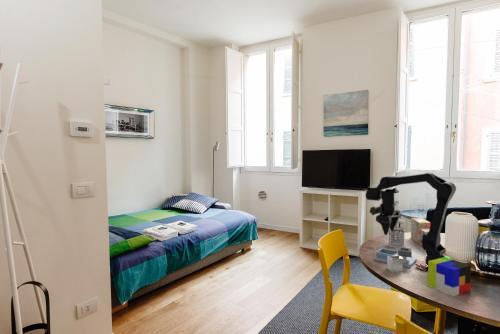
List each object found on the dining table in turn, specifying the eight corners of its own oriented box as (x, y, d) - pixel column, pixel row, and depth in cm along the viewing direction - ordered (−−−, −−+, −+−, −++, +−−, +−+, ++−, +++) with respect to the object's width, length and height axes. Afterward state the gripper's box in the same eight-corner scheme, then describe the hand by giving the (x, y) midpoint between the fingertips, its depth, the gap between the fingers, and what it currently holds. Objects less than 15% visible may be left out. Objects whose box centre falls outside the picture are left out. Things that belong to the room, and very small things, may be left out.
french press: (398, 249, 166) (399, 203, 164) (380, 243, 176) (380, 199, 174) (410, 246, 170) (410, 201, 169) (391, 240, 181) (392, 198, 179)
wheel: (411, 253, 146) (411, 248, 146) (411, 257, 141) (411, 252, 141) (398, 251, 149) (398, 246, 149) (397, 255, 144) (398, 250, 144)
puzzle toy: (453, 296, 114) (453, 270, 114) (427, 285, 123) (428, 260, 123) (470, 290, 118) (470, 265, 118) (444, 280, 127) (445, 256, 127)
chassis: (416, 260, 149) (416, 252, 149) (410, 268, 141) (410, 259, 140) (382, 253, 159) (382, 246, 159) (374, 259, 151) (374, 251, 151)
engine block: (397, 268, 141) (398, 253, 140) (402, 271, 137) (402, 256, 136) (387, 268, 141) (387, 253, 140) (391, 272, 137) (391, 257, 136)
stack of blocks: (437, 249, 164) (438, 226, 163) (425, 249, 165) (425, 226, 164) (421, 237, 185) (422, 217, 184) (410, 237, 186) (411, 217, 185)
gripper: (378, 197, 165) (378, 226, 166) (364, 203, 152) (365, 234, 152) (400, 199, 158) (401, 229, 159) (388, 205, 144) (389, 238, 145)
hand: (388, 232), depth 154 cm, fingers open, 9 cm apart
